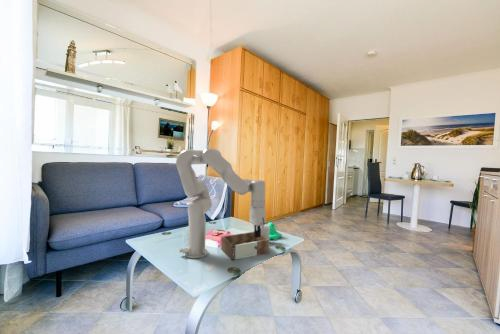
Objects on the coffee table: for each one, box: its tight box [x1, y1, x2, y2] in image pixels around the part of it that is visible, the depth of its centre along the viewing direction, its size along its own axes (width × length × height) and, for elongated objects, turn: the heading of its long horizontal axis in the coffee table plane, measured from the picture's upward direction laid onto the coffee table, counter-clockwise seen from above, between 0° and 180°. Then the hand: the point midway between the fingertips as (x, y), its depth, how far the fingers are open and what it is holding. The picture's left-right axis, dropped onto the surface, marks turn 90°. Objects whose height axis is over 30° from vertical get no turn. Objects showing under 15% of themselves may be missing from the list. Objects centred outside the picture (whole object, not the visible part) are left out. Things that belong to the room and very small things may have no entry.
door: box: [233, 241, 258, 260], centre depth 122 cm, size 14×2×8 cm, turn 119°
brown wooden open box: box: [220, 231, 270, 261], centre depth 130 cm, size 24×16×8 cm, turn 119°
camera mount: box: [266, 221, 283, 241], centre depth 155 cm, size 12×8×10 cm, turn 123°
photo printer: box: [261, 223, 270, 240], centre depth 145 cm, size 10×4×12 cm, turn 98°
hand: (257, 236), depth 117 cm, fingers closed
